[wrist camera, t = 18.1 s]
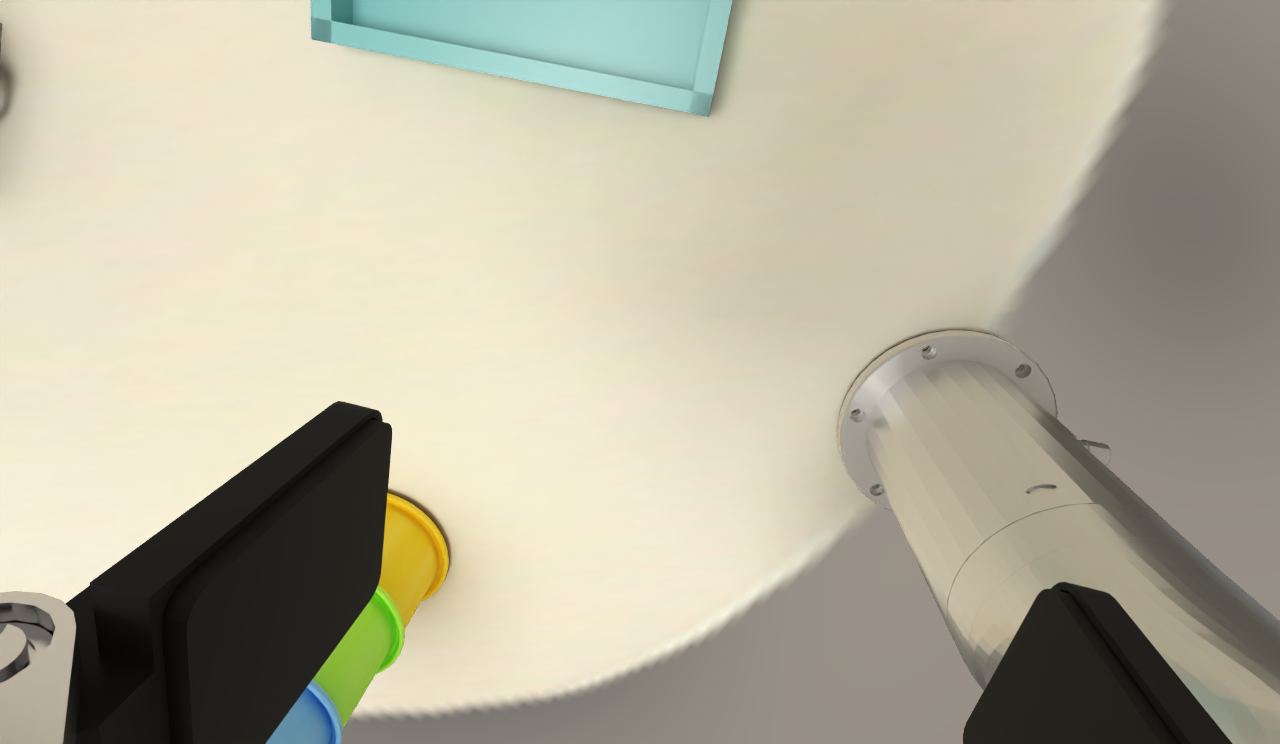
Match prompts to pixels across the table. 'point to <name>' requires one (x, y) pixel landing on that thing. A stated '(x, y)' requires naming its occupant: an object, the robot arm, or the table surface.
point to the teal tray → (550, 42)
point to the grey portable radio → (0, 34)
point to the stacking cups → (371, 628)
